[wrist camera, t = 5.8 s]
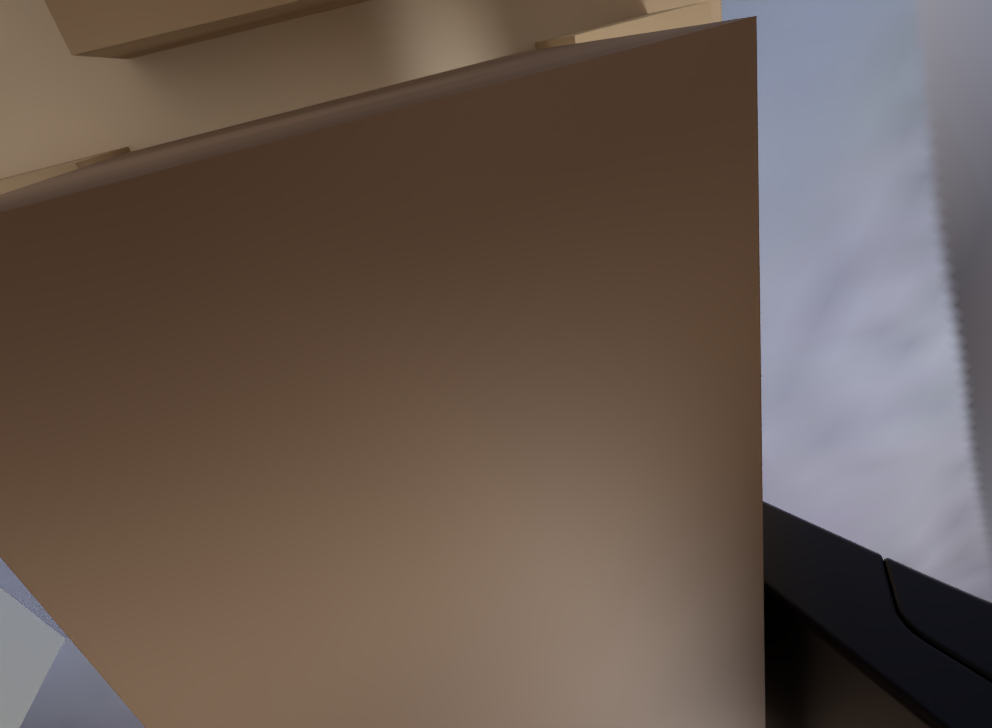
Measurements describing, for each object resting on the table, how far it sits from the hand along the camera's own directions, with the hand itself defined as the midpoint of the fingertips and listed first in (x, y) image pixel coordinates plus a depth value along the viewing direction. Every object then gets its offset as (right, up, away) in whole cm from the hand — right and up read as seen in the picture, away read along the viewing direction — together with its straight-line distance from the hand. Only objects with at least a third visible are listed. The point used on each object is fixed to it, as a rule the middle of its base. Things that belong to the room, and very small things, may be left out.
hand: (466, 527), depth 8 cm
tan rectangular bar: (0, 0, +1) cm, 1 cm away
